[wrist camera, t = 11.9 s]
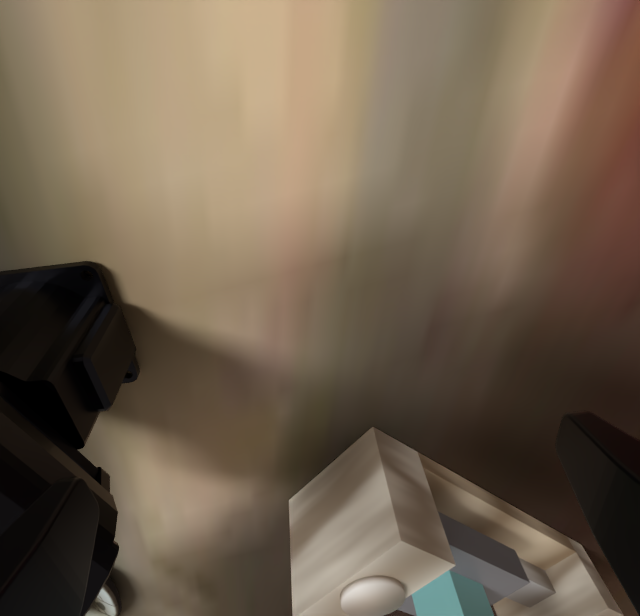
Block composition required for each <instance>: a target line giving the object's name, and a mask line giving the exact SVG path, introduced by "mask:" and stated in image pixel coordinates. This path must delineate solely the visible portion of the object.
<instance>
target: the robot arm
mask: <svg viewBox="0 0 640 616" xmlns="http://www.w3.org/2000/svg"><path fill="white" fill-rule="evenodd" d="M84 270H86V271H89V272H91V273H92V275H93V277H89V276H87V275H86V274H85V273H84ZM135 351H136V347H135V344H134V342H133V339H132V337H131V334H130V331H129V329H128V326H127V323H126V321H125V318H124V316H123V313H122V310H121V308H120V307H119V306H118V305H117V304H115V303H114V301H113V299H112V296H111V293H110V291H109V288H108V286H107V283H106V281H105V278H104V275H103V273H102V270H101V269H100V267H99V266H98V265H97V264H96V263H93V262H91V261H83V262H75V263H67V264H59V265H50V266H42V267H34V268H26V269H18V270H9V271H1V272H0V616H85V615H86V613H87V612H88V611H89V609H90V608H91V606H92V605H93V603H94V601H95V599H96V598H97V596H98V594H99V593H100V591H101V589H102V587H103V586H104V584H105V582H106V581H107V579H108V577H109V575H110V573H111V570H112V568H113V565H114V563H115V560H116V558H117V555H118V551H119V545H118V543H116V542H115V541H114V538H115V531H116V522H117V514H118V511H117V508H116V505H115V502H114V498H113V495H111V494H110V476H109V474H107V473H106V472H105V471H104V470H103V469H102V468H101V467H97V468H96V467H95V466H94V465H93V464H92V463H91V462H90V461H89V460H88V459H87V458H85V457H84V456H83V455H82V454H81V453H80V452H79V451H78V450H77V449H81V448H83V447H84V446H85V444H86V442H87V439H88V437H89V435H90V433H91V431H92V428H93V426H94V424H95V422H96V420H97V418H98V415H99V413H100V412H101V411H108V410H109V408H110V407H111V406H112V405H113V402H114V400H115V398H116V395H117V393H118V391H119V388H120V386H121V384H122V383H129V382H133V381H135V380H136V379H137V377H138V375H139V372H140V369H139V366H138V363H137V361H136V358H135V355H134V354H135ZM127 371H130V372H131V373H127ZM556 451H557V455H558V457H559V460H560V462H561V464H562V466H563V469H564V471H565V473H566V475H567V478H568V480H569V482H570V484H571V487H572V489H573V491H574V493H575V496H576V498H577V500H578V502H579V505H580V507H581V509H582V511H583V514H584V516H585V518H586V520H587V522H588V525H589V527H590V529H591V531H592V533H593V535H594V537H595V538H596V540H597V542H598V544H599V546H600V548H601V549H602V551H603V553H604V555H605V556H606V558H607V560H608V562H609V563H610V565H611V567H612V569H613V570H614V572H615V574H616V576H617V578H618V579H619V581H620V583H621V585H622V586H623V588H624V590H625V592H626V593H627V595H628V597H629V599H630V600H631V602H632V604H633V606H634V607H635V609H636V611H637V613H638V614H639V616H640V441H639V440H637V439H635V438H634V437H632V436H630V435H629V434H627V433H625V432H624V431H622V430H620V429H618V428H617V427H615V426H613V425H612V424H610V423H608V422H607V421H605V420H603V419H601V418H600V417H598V416H596V415H595V414H593V413H591V412H589V411H576V412H568V413H565V414H564V415H563V417H562V420H561V424H560V427H559V431H558V435H557V439H556Z"/></svg>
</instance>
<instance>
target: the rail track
mask: <svg viewBox="0 0 640 616" xmlns="http://www.w3.org/2000/svg"><path fill="white" fill-rule="evenodd" d="M438 512H440V513H442V514H444V515H446V516H448V517H450V518H452V519H454V520H456V521H458V522H460V523H462V524H464V525H466V526H468V527H470V528H472V529H474V530H476V531H478V532H480V533H482V534H484V535H486V536H488V537H490V538H492V539H494V540H496V541H498V542H500V543H502V544H504V545H506V546H508V547H510V548H512V549H514V550H515V551H516V553H517V555H518V558H519V560H520V562H521V564H522V566H523V568H524V571H525V573H526V575H527V577H528V579H529V581H530V583H529V584H527V585H525V586H524V587H522V588H520V589H518V590H517V591H515V592H513V593H512V594H510V595H508V596H507V597H505V598H503V599H502V600H500V601H498V602H497V603H495V604H493V606H494V608H495V611H496V614H497V616H623V614H622V612H621V610H620V608H619V607H618V605H617V603H616V602H615V600H614V598H613V597H612V595H611V593H610V592H609V590H608V588H607V587H606V585H605V583H604V582H603V580H602V578H601V577H600V575H599V573H598V572H597V570H596V568H595V567H594V565H593V563H592V562H591V560H590V558H589V557H588V555H587V553H586V551H585V550H584V548H583V546H582V545H581V544H579V543H577V542H576V541H574V540H572V539H570V538H569V537H567V536H565V535H563V534H562V533H560V532H558V531H556V530H555V529H553V528H551V527H549V526H547V525H546V524H544V523H542V522H540V521H539V520H537V519H535V518H533V517H532V516H530V515H528V514H526V513H525V512H523V511H521V510H519V509H517V508H516V507H514V506H512V505H510V504H509V503H507V502H505V501H503V500H502V499H500V498H498V497H496V496H495V495H493V494H491V493H489V492H488V491H486V490H484V489H482V488H480V487H479V486H477V485H475V484H473V483H472V482H470V481H468V480H466V479H465V478H463V477H461V476H459V475H458V474H456V473H454V472H452V471H450V470H449V469H447V468H445V467H443V466H442V465H440V464H438V463H436V462H435V461H433V460H431V459H429V458H428V457H426V456H424V455H422V454H420V453H419V452H417V451H415V450H413V449H412V448H410V447H408V446H406V445H405V444H403V443H401V442H399V441H398V440H396V439H394V438H392V437H390V436H389V435H387V434H385V433H383V432H382V431H380V430H378V429H376V428H375V427H372V428H370V429H369V430H368V431H367V432H366V433H365V434H364V435H363V436H361V437H360V438H359V439H358V440H357V441H356V442H355V443H353V444H352V445H351V446H350V447H349V448H348V449H347V450H345V451H344V452H343V453H342V454H341V455H340V456H339V457H337V458H336V459H335V460H334V461H333V462H332V463H331V464H330V465H328V466H327V467H326V468H325V469H324V470H323V471H322V472H320V473H319V474H318V475H317V476H316V477H315V478H314V479H312V480H311V481H310V482H309V483H308V484H307V485H306V486H304V487H303V488H302V489H301V490H300V491H299V492H298V493H296V494H295V495H294V496H293V497H292V498H291V499H290V500H289V520H290V551H291V583H292V615H293V616H384V615H387V614H389V613H392V612H394V611H395V610H397V609H398V608H399V607H401V606H402V604H403V603H404V601H405V598H407V597H408V596H410V595H411V594H413V593H415V592H416V591H418V590H419V589H421V588H422V587H424V586H425V585H427V584H428V583H430V582H431V581H433V580H434V579H436V578H437V577H439V576H440V575H442V574H443V573H445V572H447V571H448V570H450V569H451V568H453V567H454V566H456V564H455V561H454V558H453V555H452V552H451V549H450V546H449V543H448V540H447V537H446V535H445V532H444V529H443V526H442V523H441V520H440V517H439V514H438Z"/></svg>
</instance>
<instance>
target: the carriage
mask: <svg viewBox="0 0 640 616" xmlns="http://www.w3.org/2000/svg"><path fill="white" fill-rule="evenodd" d="M438 514H439V517H440V520H441V523H442V526H443V529H444V532H445V535H446V537H447V540H448V543H449V546H450V549H451V552H452V555H453V558H454V561H455V564H456V566H454V567H453V568H451V569H450V570H448V571H447V572H445V573H443V574H442V575H440V576H439V577H437V578H436V579H434V580H433V581H431V582H430V583H428V584H427V585H425V586H424V587H422V588H421V589H419V590H418V591H416V592H415V593H413V594H411V595H410V596H408V597H407V598H405V601H404V603H403V604H402V606H401V607H399V608H398V609H397V610H400V611H403V612H405V613H408V614H411V615H414V616H494V614H493V612H492V609H491V605H493V604H495V603H497V602H498V601H500V600H502V599H503V598H505V597H507V596H508V595H510V594H512V593H513V592H515V591H517V590H518V589H520V588H522V587H524V586H525V585H527V584H529V583H530V581H529V579H528V577H527V575H526V573H525V571H524V568H523V566H522V564H521V562H520V560H519V558H518V555H517V553H516V551H515V550H514V549H512V548H510V547H508V546H506V545H504V544H502V543H500V542H498V541H496V540H494V539H492V538H490V537H488V536H486V535H484V534H482V533H480V532H478V531H476V530H474V529H472V528H470V527H468V526H466V525H464V524H462V523H460V522H458V521H456V520H454V519H452V518H450V517H448V516H446V515H444V514H442V513H440V512H438Z"/></svg>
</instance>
